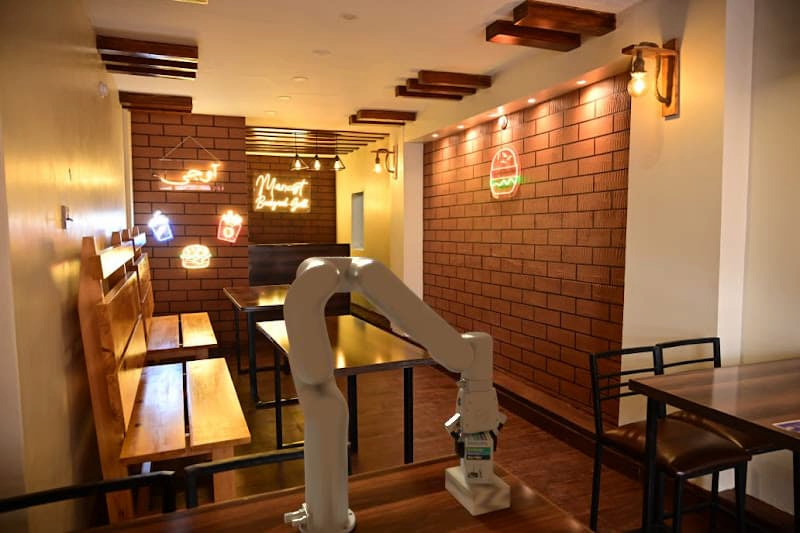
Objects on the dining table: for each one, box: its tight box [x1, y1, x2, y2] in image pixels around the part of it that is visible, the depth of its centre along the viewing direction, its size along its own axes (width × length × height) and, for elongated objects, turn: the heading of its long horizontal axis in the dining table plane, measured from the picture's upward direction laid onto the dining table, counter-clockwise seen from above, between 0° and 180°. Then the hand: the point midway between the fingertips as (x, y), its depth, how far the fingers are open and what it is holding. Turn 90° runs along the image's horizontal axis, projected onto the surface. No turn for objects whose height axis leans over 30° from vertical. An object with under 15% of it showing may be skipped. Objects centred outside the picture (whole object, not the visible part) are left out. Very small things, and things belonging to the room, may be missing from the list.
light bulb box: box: [460, 431, 494, 484], centre depth 128 cm, size 11×7×11 cm, turn 1°
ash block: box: [444, 465, 511, 517], centre depth 129 cm, size 10×14×5 cm
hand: (476, 452), depth 128 cm, fingers closed on light bulb box, 8 cm apart
